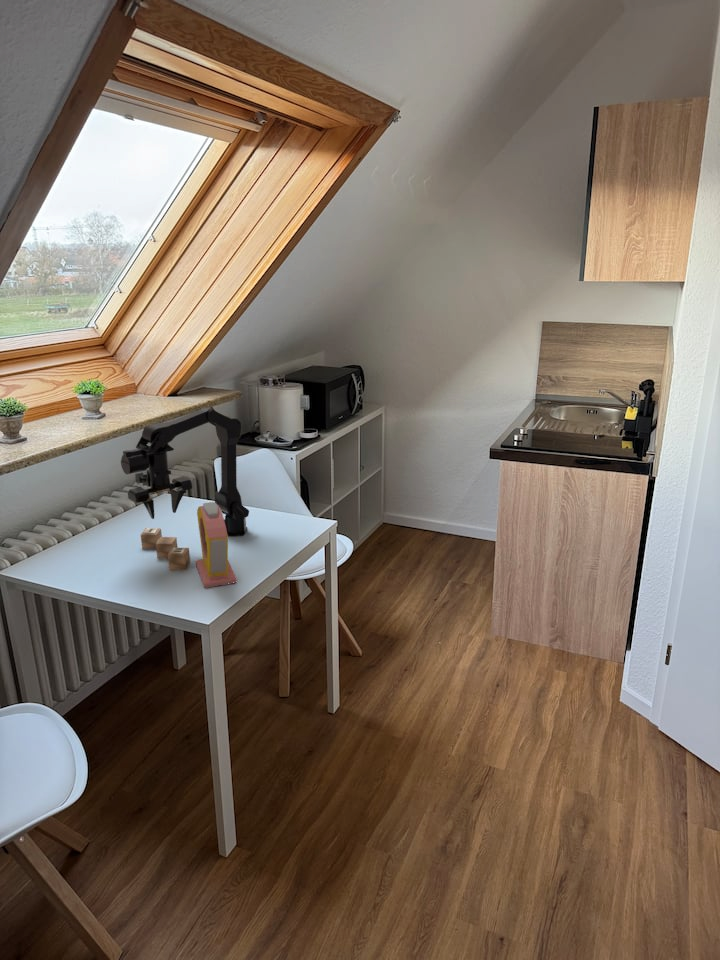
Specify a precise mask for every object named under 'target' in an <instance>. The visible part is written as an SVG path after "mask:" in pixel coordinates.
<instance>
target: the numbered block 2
mask: <svg viewBox="0 0 720 960" xmlns="http://www.w3.org/2000/svg"><path fill="white" fill-rule="evenodd" d="M190 555H191V554H190V548H189V547H177V548H172V549H171V550H170V552H169V553H168V558H167V559H168V560H167V562H168V570H169V571H187V569H188V567H189V565H190V564H191V558H190V557H191V556H190Z"/></svg>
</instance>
